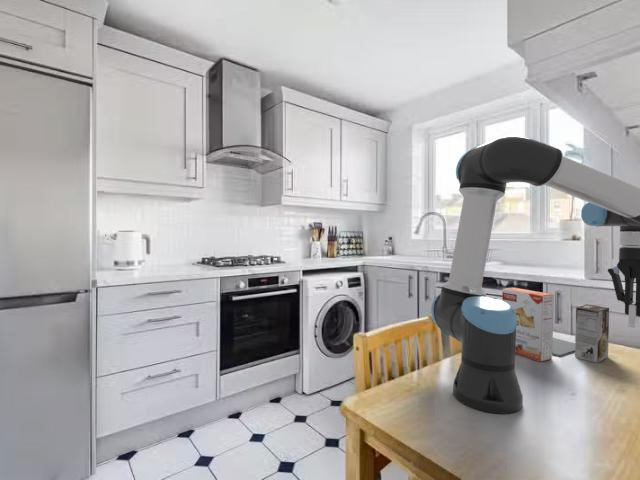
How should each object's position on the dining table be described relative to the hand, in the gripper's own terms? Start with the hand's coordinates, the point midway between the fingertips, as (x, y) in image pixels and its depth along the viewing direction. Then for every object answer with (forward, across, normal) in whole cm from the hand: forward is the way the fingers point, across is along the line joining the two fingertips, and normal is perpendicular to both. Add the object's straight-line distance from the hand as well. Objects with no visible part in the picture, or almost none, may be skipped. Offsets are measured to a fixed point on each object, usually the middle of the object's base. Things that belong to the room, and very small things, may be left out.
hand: (633, 326), depth 104 cm
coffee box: (+13, +10, 0) cm, 16 cm away
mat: (+12, +22, 0) cm, 26 cm away
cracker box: (+13, +22, +16) cm, 30 cm away
